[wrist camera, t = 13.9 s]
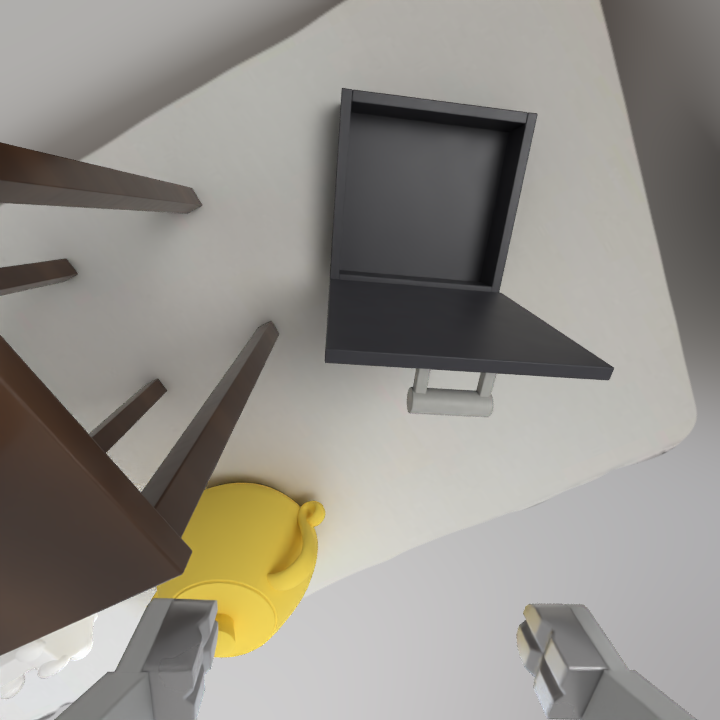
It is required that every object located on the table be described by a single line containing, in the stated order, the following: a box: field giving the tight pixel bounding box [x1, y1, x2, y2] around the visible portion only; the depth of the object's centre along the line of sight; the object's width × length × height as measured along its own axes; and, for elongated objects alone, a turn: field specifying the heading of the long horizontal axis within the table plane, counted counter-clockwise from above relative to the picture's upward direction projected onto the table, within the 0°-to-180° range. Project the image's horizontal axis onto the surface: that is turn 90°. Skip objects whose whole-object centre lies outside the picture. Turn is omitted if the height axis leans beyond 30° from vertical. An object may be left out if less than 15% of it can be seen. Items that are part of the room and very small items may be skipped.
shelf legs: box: [0, 142, 279, 537], centre depth 24 cm, size 15×15×27 cm
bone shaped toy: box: [0, 612, 98, 699], centre depth 46 cm, size 15×9×8 cm, turn 122°
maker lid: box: [325, 279, 614, 417], centre depth 28 cm, size 15×16×5 cm
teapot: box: [150, 483, 325, 657], centre depth 41 cm, size 25×18×14 cm
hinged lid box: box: [330, 88, 537, 293], centre depth 33 cm, size 15×16×4 cm
